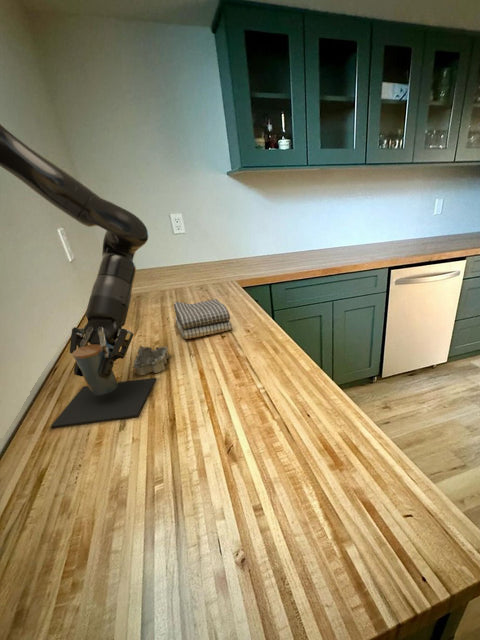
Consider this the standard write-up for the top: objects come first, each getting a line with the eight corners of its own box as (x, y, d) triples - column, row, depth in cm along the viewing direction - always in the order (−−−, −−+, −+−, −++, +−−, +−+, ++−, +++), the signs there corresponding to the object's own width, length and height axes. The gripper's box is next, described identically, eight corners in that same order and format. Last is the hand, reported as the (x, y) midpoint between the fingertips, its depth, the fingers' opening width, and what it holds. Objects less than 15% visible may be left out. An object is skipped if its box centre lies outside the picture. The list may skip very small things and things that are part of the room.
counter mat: (51, 428, 67) (50, 426, 67) (84, 388, 80) (83, 386, 80) (138, 417, 68) (137, 414, 68) (156, 379, 81) (155, 377, 81)
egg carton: (144, 358, 92) (140, 344, 90) (172, 354, 93) (168, 341, 91) (133, 377, 83) (127, 362, 81) (164, 373, 84) (159, 358, 82)
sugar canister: (86, 397, 71) (66, 357, 66) (97, 383, 76) (79, 345, 71) (113, 393, 71) (96, 354, 66) (122, 380, 76) (106, 342, 71)
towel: (184, 343, 99) (178, 318, 95) (175, 324, 113) (169, 301, 109) (234, 331, 104) (230, 306, 100) (219, 314, 118) (215, 292, 114)
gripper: (68, 293, 72) (47, 370, 68) (125, 293, 68) (106, 374, 64) (96, 308, 79) (78, 378, 75) (149, 309, 75) (133, 382, 72)
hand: (91, 376), depth 70 cm, fingers closed on sugar canister, 5 cm apart
